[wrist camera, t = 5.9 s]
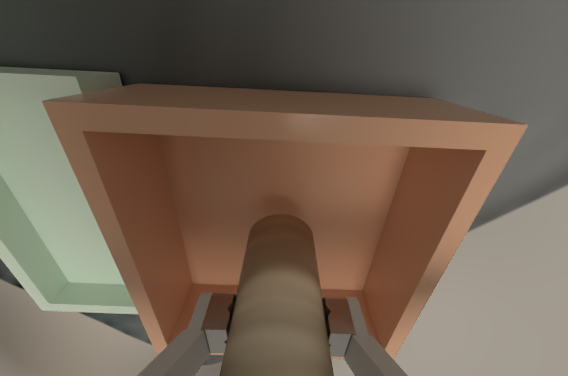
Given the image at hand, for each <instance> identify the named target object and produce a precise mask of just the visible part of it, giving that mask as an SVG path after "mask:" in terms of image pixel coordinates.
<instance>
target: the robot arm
mask: <svg viewBox="0 0 568 376" xmlns="http://www.w3.org/2000/svg"><path fill="white" fill-rule="evenodd" d="M235 299H236V294H234V293H213V292H202V293H201V294H200V296H199V298H198V301H197V304H196V307H195V310H194V312H193V315H192V318H191V321H190V323H189V326H188V329H187V330H183V331H182V332H181V333H180V334H179V335H178V336H177V337H176V338H175V339H174V340H173V341H172V342H171V343H170V344H169V345H168V346H167V347H166V348H165V349H164V350H163V351H162V352H161V353H160V354H159V355H158V356H157V357H156V358H155V359H154V360H153V361H152V362H151V363H150V364H149V365H148V366H147V367H146V368H145V369H144V370H143V371H142V372H141V373H140V374H139V375H138V376H195V374H196V373H197V372H198V370H199V369H200V367H201V366H202V365H203V363H204V362H205V361H206V359H207V358H208V357H209V355H210V353H224V352H225V347H226V343H227V338H228V333H229V328H230V323H231V318H232V314H233V309H234V304H235ZM323 306H324V313H325V320H326V327H327V334H328V340H329V347H330V354H331V357H344V359H345V361H346V362H347V364H348V365H349V367H350V369H351V370H352V372H353V373H354V375H355V376H407V374H406V373H405V372H404V371H403V370H402V369H401V368H400V367H399V366H398V364H397V363H396V362H395V361H394V360H393V359H392V357H391V356H390V355H389V354H388V353H387V352H386V351H385V350H384V348H383V347H382V346H381V345H380V344H379V343H378V342H377V340H376V339H375V338H374V337H373V336H370V335H369V334H368V331H367V327H366V324H365V321H364V317H363V314H362V311H361V307H360V304H359V300H358V299H357V298H356V297H336V296H324V297H323Z"/></svg>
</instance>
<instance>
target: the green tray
mask: <svg viewBox="0 0 568 376" xmlns="http://www.w3.org/2000/svg"><path fill="white" fill-rule="evenodd" d="M121 86H122V83H121V79H120V76H119V73H117V72H98V71H78V70H59V69H39V68H19V67H0V258H1V260H2V261H3V262H4V263H5V265H6V266H7V267H8V268H9V270H10V271H11V272H12V273H13V275H14V276H15V277H16V278H17V280H18V281H19V282H20V283H21V285H22V286H23V287H24V288H25V290H26V291H27V292H28V293H29V295H30V296H31V297H32V298H33V300H34V301H35V302H36V303H37V305H38V306H39V307H40V309H41V310H42V311H68V312H69V311H70V312H94V313H120V314H138V312H137V310H136V308H135V305H134V303H133V301H132V299H131V297H130V294H129V292H128V290H127V288H126V286H125V284H124V281H123V279H122V277H121V275H120V273H119V270H118V268H117V266H116V264H115V262H114V259H113V257H112V255H111V253H110V251H109V248H108V246H107V244H106V242H105V240H104V237H103V235H102V233H101V231H100V229H99V226H98V224H97V222H96V220H95V218H94V215H93V213H92V211H91V209H90V207H89V204H88V202H87V200H86V198H85V196H84V193H83V191H82V189H81V187H80V185H79V182H78V180H77V178H76V176H75V174H74V171H73V169H72V167H71V165H70V163H69V160H68V158H67V156H66V154H65V152H64V150H63V147H62V145H61V143H60V141H59V139H58V136H57V134H56V132H55V130H54V128H53V125H52V123H51V121H50V119H49V117H48V114H47V112H46V110H45V108H44V106H43V103H42V101H43V100H49V99H54V98H60V97H66V96H71V95H77V94H82V93H88V92H93V91H99V90H104V89H110V88H115V87H121Z"/></svg>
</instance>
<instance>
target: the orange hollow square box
mask: <svg viewBox="0 0 568 376" xmlns="http://www.w3.org/2000/svg"><path fill="white" fill-rule="evenodd" d="M42 103H43V106H44V108H45V110H46V112H47V114H48V117H49V119H50V121H51V123H52V125H53V128H54V130H55V132H56V134H57V136H58V139H59V141H60V143H61V145H62V147H63V150H64V152H65V154H66V156H67V158H68V160H69V163H70V165H71V167H72V169H73V171H74V174H75V176H76V178H77V180H78V182H79V185H80V187H81V189H82V191H83V193H84V196H85V198H86V200H87V202H88V204H89V207H90V209H91V211H92V213H93V215H94V218H95V220H96V222H97V224H98V226H99V229H100V231H101V233H102V235H103V237H104V240H105V242H106V244H107V246H108V248H109V251H110V253H111V255H112V257H113V259H114V262H115V264H116V266H117V268H118V270H119V273H120V275H121V277H122V279H123V281H124V284H125V286H126V288H127V290H128V292H129V294H130V297H131V299H132V301H133V303H134V305H135V308H136V310H137V312H138V314H139V316H140V319H141V321H142V323H143V325H144V327H145V330H146V332H147V334H148V336H149V338H150V341H151V343H152V345H153V347H154V349H155V352H156V353H161V352H162V351H163V350H164V349H165V348H166V347H167V346H168V345H169V344H170V343H171V342H172V341H173V340H174V339H175V338H176V337H177V336H178V335H179V334H180V333H181V332H182V331H183V330H187V329H188V326H189V323H190V321H191V318H192V315H193V312H194V310H195V307H196V304H197V301H198V298H199V296H200V294H201V293H202V292H213V293H234V294H237V289H238V285H239V280H240V275H241V270H242V265H243V260H244V256H245V251H246V246H247V241H248V236H249V232H250V230H251V228H252V226H253V225H254V224H255V223H256V222H257V221H258V220H260V219H262V218H264V217H266V216H269V215H274V214H287V215H292V216H295V217H297V218H299V219H301V220H303V221H304V222H305V223H306V224H307V225H308V226H309V227H310V229H311V231H312V233H313V238H314V245H315V252H316V259H317V265H318V272H319V279H320V286H321V293H322V299H323V297H324V296H336V297H356V298H357V299H358V300H359V304H360V307H361V311H362V314H363V317H364V321H365V324H366V327H367V331H368V334H369V335H370V336H373V337H374V338H375V339H376V340H377V342H378V343H379V344H380V345H381V346H382V347H383V348H384V350H385V351H386V352H387V353H388V354H389V355H390V356H391V357H392V359H393V360H394V359H395V357H396V355H397V353H398V351H399V350H400V348H401V346H402V344H403V343H404V341H405V339H406V337H407V336H408V334H409V332H410V330H411V329H412V327H413V325H414V324H415V322H416V320H417V318H418V317H419V315H420V313H421V311H422V310H423V308H424V306H425V304H426V302H427V301H428V299H429V297H430V296H431V294H432V292H433V290H434V288H435V287H436V285H437V283H438V282H439V280H440V278H441V276H442V275H443V273H444V271H445V270H446V268H447V266H448V264H449V263H450V261H451V259H452V257H453V256H454V254H455V252H456V250H457V249H458V247H459V245H460V243H461V242H462V240H463V238H464V236H465V235H466V233H467V231H468V229H469V228H470V226H471V224H472V222H473V221H474V219H475V217H476V215H477V214H478V212H479V210H480V208H481V207H482V205H483V203H484V201H485V200H486V198H487V196H488V194H489V193H490V191H491V189H492V187H493V186H494V184H495V182H496V181H497V179H498V177H499V175H500V174H501V172H502V170H503V168H504V167H505V165H506V163H507V161H508V160H509V158H510V156H511V154H512V153H513V151H514V149H515V147H516V146H517V144H518V142H519V140H520V139H521V137H522V135H523V133H524V132H525V130H526V128H527V126H528V125H527V124H524V123H520V122H517V121H513V120H510V119H506V118H502V117H499V116H495V115H492V114H488V113H485V112H481V111H478V110H474V109H471V108H467V107H464V106H460V105H457V104H453V103H449V102H446V101H442V100H439V99H435V98H422V97H402V96H382V95H362V94H342V93H323V92H303V91H283V90H263V89H243V88H223V87H204V86H184V85H164V84H144V83H138V84H132V85H126V86H121V87H115V88H110V89H104V90H99V91H93V92H88V93H82V94H77V95H71V96H66V97H60V98H54V99H49V100H43V101H42ZM210 355H224V353H210ZM331 359H344V357H331Z"/></svg>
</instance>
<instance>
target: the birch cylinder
mask: <svg viewBox="0 0 568 376" xmlns="http://www.w3.org/2000/svg"><path fill="white" fill-rule="evenodd" d="M220 376H334V374H333V368H332V361H331V354H330V347H329V340H328V334H327V327H326V320H325V313H324V306H323V299H322V293H321V286H320V279H319V272H318V265H317V259H316V252H315V245H314V238H313V233H312V231H311V229H310V227H309V226H308V225H307V224H306V223H305V222H304V221H303V220H301V219H299V218H297V217H295V216H292V215H287V214H274V215H269V216H266V217H264V218H262V219H260V220H258V221H257V222H256V223H255V224H254V225H253V226H252V228H251V230H250V232H249V236H248V241H247V246H246V251H245V256H244V260H243V265H242V270H241V275H240V280H239V285H238V289H237V294H236V299H235V304H234V309H233V314H232V318H231V323H230V328H229V333H228V338H227V343H226V347H225V352H224V357H223V362H222V367H221V372H220Z"/></svg>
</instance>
